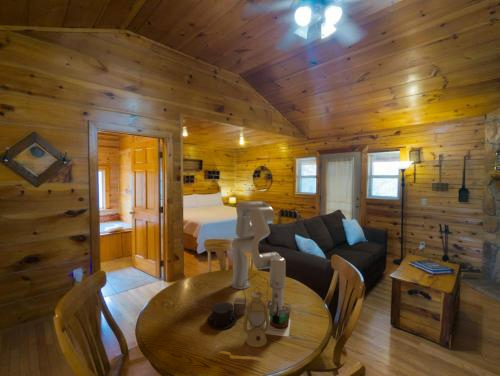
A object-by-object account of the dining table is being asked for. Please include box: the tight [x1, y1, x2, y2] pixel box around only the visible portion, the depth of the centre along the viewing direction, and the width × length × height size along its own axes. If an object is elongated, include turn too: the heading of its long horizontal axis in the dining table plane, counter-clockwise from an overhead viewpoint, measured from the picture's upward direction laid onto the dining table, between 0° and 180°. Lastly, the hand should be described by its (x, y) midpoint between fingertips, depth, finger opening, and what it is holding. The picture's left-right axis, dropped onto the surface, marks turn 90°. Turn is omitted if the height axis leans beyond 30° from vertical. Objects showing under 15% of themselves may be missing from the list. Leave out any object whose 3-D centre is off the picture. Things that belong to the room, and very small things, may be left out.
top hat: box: [206, 301, 238, 331], centre depth 123 cm, size 15×15×10 cm
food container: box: [266, 299, 292, 329], centre depth 118 cm, size 12×6×10 cm, turn 53°
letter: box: [262, 317, 292, 338], centre depth 119 cm, size 14×12×1 cm
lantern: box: [242, 272, 270, 348], centre depth 107 cm, size 12×10×30 cm
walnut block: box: [233, 297, 247, 316], centre depth 131 cm, size 6×6×6 cm
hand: (277, 317), depth 119 cm, fingers open, 9 cm apart
